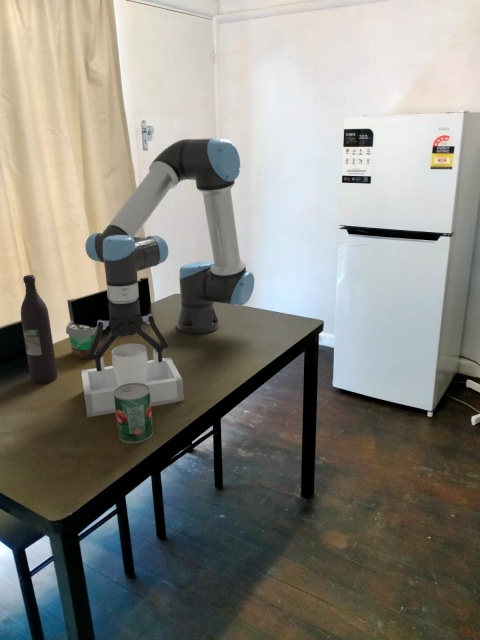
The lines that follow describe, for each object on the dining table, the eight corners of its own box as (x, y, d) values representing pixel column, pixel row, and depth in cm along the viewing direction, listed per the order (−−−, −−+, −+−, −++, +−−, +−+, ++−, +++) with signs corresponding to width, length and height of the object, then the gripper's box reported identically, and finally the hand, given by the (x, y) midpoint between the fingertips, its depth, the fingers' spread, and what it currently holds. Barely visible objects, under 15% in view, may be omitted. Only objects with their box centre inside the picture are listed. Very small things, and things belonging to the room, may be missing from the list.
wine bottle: (30, 376, 146) (13, 274, 136) (55, 371, 149) (41, 271, 139) (32, 386, 140) (15, 280, 130) (59, 381, 143) (44, 277, 133)
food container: (60, 356, 160) (56, 326, 156) (75, 349, 165) (71, 320, 161) (90, 363, 154) (86, 332, 151) (104, 356, 159) (100, 326, 156)
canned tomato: (160, 432, 117) (157, 389, 113) (132, 447, 111) (128, 402, 108) (138, 421, 122) (135, 379, 118) (111, 434, 116) (106, 391, 113)
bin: (171, 376, 145) (170, 357, 143) (183, 400, 131) (182, 379, 129) (83, 390, 137) (81, 370, 135) (87, 417, 124) (84, 395, 122)
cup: (155, 386, 137) (152, 344, 133) (140, 402, 129) (137, 358, 125) (125, 382, 139) (121, 341, 135) (108, 397, 131) (104, 354, 127)
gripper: (71, 309, 118) (81, 391, 125) (176, 298, 126) (181, 375, 133) (70, 300, 125) (80, 379, 132) (170, 290, 133) (174, 364, 140)
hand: (130, 377), depth 133 cm, fingers open, 13 cm apart
